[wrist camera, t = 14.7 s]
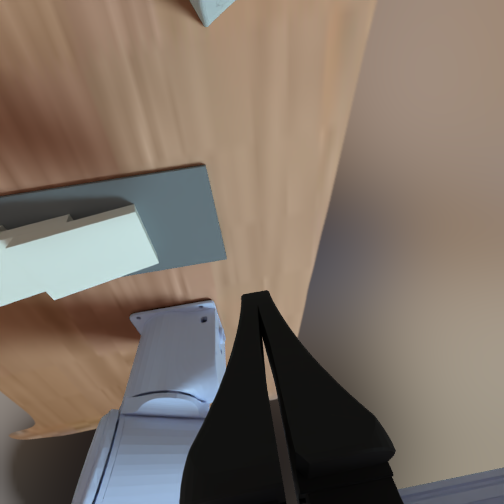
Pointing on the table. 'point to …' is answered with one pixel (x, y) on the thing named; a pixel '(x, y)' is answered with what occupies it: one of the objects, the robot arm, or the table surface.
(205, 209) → the mat
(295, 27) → the table surface
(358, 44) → the table surface
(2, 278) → the domino
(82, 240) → the domino
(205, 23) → the small box
